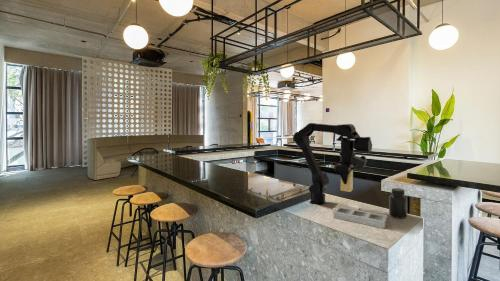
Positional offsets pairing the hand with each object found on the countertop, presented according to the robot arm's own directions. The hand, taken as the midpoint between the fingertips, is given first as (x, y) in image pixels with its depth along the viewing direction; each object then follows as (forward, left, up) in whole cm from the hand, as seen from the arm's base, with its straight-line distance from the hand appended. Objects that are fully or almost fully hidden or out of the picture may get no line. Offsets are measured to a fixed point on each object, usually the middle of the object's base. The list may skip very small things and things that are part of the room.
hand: (346, 182), depth 116 cm
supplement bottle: (+21, +4, -13) cm, 25 cm away
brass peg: (0, 0, -4) cm, 4 cm away
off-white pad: (0, 0, -13) cm, 13 cm away
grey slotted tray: (+8, -9, -13) cm, 18 cm away
